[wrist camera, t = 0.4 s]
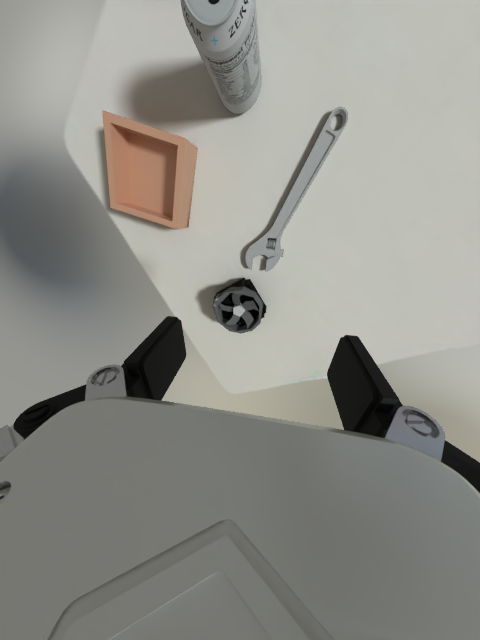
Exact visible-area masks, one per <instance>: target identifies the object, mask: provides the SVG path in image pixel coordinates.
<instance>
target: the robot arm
mask: <svg viewBox="0 0 480 640" xmlns="http://www.w3.org/2000/svg"><path fill="white" fill-rule="evenodd" d="M185 358H186V349H185V343H184V336H183V330H182V324H181V320H179V319H178V318H177V317H170V316H168V317H166V318H165V319H164V320H163V321H162V322H161V323H160V324H159V326H158V327H157V328H156V329H155V330H154V331H153V332H152V333H151V334H150V335H149V336H148V337H147V338H146V339H145V340H144V341H143V342H142V343H141V344H140V345H139V346H138V347H137V348H136V349H135V350H134V352H133V353H132V354H131V355H130V356H129V357H128V358H127V359H126V360H125V361H124V364H123V365H122V366H119V365H108V366H104V367H102V368H100V369H98V370H96V371H95V372H94V373H92V374H91V375H90V376H89V378H88V380H87V384H86V385H83V386H81V387H78V388H76V389H73V390H70V391H68V392H65V393H63V394H60V395H57V396H55V397H52V398H49V399H47V400H44V401H41V402H39V403H37V404H35V405H33V406H31V407H30V408H28V409H27V410H25V411H24V412H23V413H22V414H20V416H19V417H18V418H17V419H16V421H15V423H14V425H13V426H11V427H9V426H8V425H6V426H4V427H3V428H0V640H480V463H479V462H478V461H476V460H475V459H473V458H471V457H470V456H469V455H467V454H466V453H464V452H462V451H461V450H459V449H458V448H456V447H455V446H453V445H452V444H450V443H449V442H447V441H445V433H444V431H443V429H442V427H441V426H440V425H439V424H438V422H437V421H436V420H435V419H433V418H432V417H431V416H430V415H428V414H427V413H425V412H423V411H421V410H419V409H417V408H414V407H411V406H403V405H402V404H401V402H400V401H399V398H398V397H397V395H396V394H395V392H394V391H393V389H392V388H391V386H390V385H389V383H388V382H387V380H386V379H385V377H384V376H383V374H382V372H381V371H380V369H379V368H378V366H377V365H376V363H375V362H374V360H373V359H372V357H371V356H370V354H369V353H368V351H367V350H366V348H365V346H364V345H363V343H362V342H361V340H360V339H359V337H358V336H350V335H345V336H344V337H341V338H340V341H339V343H338V346H337V349H336V351H335V354H334V356H333V359H332V362H331V364H330V367H329V369H328V373H327V377H328V380H329V383H330V387H331V390H332V392H333V396H334V399H335V402H336V405H337V408H338V412H339V414H340V418H341V421H342V424H343V427H344V430H340V429H335V428H330V427H323V426H318V425H312V424H306V423H300V422H293V421H287V420H281V419H275V418H269V417H263V416H256V415H250V414H244V413H237V412H231V411H225V410H218V409H213V408H206V407H200V406H193V405H187V404H180V403H174V402H167V401H161V400H162V398H163V396H164V395H165V393H166V391H167V389H168V388H169V386H170V384H171V382H172V381H173V379H174V377H175V376H176V374H177V372H178V370H179V369H180V367H181V365H182V363H183V362H184V360H185Z"/></svg>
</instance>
